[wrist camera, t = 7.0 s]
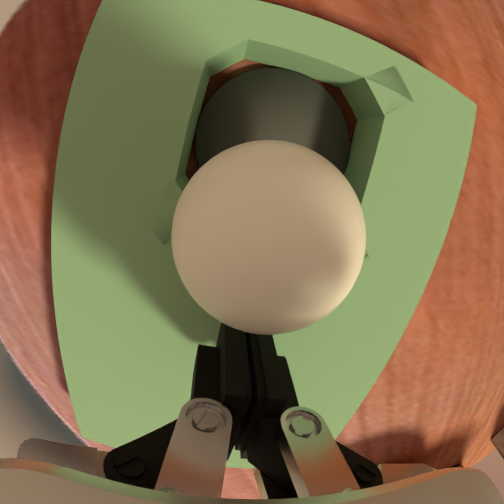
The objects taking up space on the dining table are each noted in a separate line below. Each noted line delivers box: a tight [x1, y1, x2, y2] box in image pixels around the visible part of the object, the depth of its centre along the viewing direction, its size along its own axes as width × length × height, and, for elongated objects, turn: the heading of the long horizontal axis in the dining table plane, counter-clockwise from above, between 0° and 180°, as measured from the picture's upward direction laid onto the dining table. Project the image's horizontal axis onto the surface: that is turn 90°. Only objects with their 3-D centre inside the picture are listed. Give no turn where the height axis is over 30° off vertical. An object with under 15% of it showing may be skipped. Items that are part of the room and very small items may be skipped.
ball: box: [171, 140, 366, 335], centre depth 8 cm, size 5×5×5 cm
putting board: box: [51, 0, 477, 469], centre depth 13 cm, size 24×16×2 cm, turn 166°
